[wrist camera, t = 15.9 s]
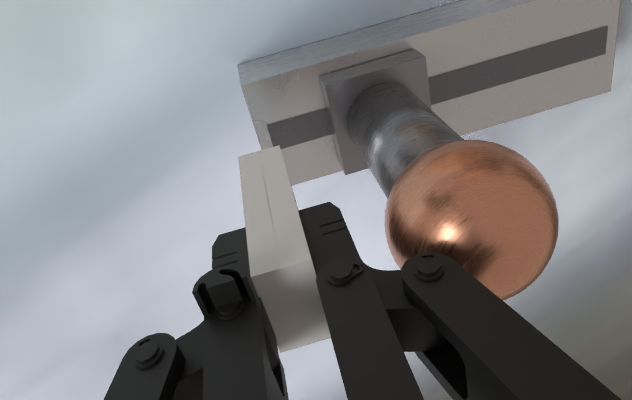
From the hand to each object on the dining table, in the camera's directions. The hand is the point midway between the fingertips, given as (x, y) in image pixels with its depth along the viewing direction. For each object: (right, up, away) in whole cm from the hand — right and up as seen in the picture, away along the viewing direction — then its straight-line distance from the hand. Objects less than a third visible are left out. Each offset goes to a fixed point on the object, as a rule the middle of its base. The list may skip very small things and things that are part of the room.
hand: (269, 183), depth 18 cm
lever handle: (+4, +3, +3) cm, 6 cm away
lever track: (+6, +6, +6) cm, 10 cm away
